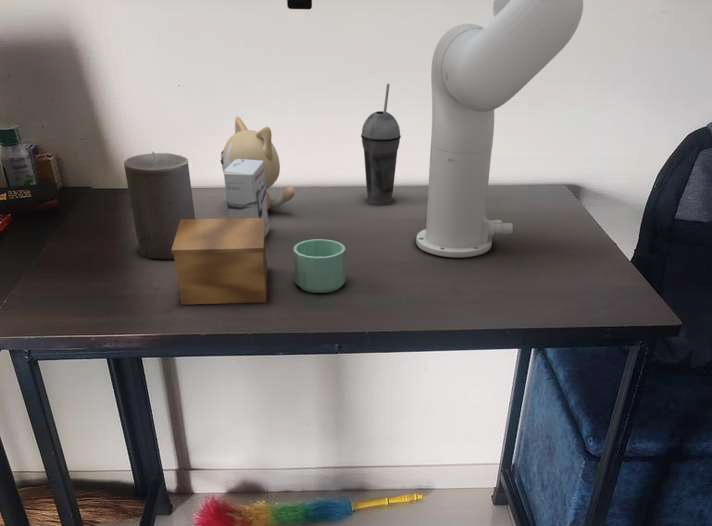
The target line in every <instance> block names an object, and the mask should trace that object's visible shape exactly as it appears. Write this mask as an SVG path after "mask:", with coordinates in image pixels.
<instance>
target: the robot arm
mask: <svg viewBox="0 0 712 526" xmlns="http://www.w3.org/2000/svg"><path fill="white" fill-rule="evenodd" d="M286 3H287V4H286V7H287V9H289V10H312V8H313V0H286ZM583 11H584V0H493V5H492V13H493V14H492V15H493V18H492V19H491V20H490V21H489V22H488V23H487V24H486V25H485V26H484V27H483V26H481V25H478V24H474V23H461V24H458V25H455V26H453V27H451V28H450V29H448V30H447V31H446V32H445V33H443V35H442V36H441V37H440V39H439V40H438V42H437V44H436V45H435V49H434V51H433V54H432V59H431V67H430V68H431V70H430V78H431V79H430V80H431V81H430V84H431V110H432V111H431V114H432V115H431V136H430V150H429V151H430V153H429V169H428V173H429V174H428V187H427V204H426V205H427V206H426V222H425V223H426V225H425V228H424V229H422V230H421V231H419V232H418V233H417V234H416V239H415V243H416V246H417V247H418V248H419V249H420V250H422V251H423V252H425V253H428V254H431V255H434V256H438V257H444V258H455V259H457V258H460V259H461V258H471V257H477V256H481V255H483V254H485V253H487V252H488V251H490V250H491V248H492V243H493V239H492V238H494V236H512V235H513V230H514V227H513V223H512V222H503V221H502V219H493V220H489V219H488V218H487V216H486V210H487V200H488V190H489V180H490V171H491V161H492V153H493V152H492V149H493V143H494V133H495V132H494V131H495V110H496V109H498V108H500V107H502V106H503V105H505V104H506V103H507V102H509V101H510V100H511V99H512V98H514V97H515V96H516V95H517V94H518V93H519V92H520V91H521V90H522V89H523V88H524V87H525V86H526V85H527V84H529V82H530V81H531V80H533V79H534V77H535V76H537V75H538V74H539V73H540V72H541V71H542V70H543V69H544V68H545V67H546V66H547V65H548V64H549V63H550V62H551V61H552V60H554V58H556V56H557V55H558V54H559V53H560V52H561V51H562V50H563V49H564V48H565V47H566V46H567V45H568V43H569V42H570V41H571V39H572V38H573V37H574V35H575V33H576V31H577V29H578V27H579V25H580V22H581V19H582V15H583Z"/></svg>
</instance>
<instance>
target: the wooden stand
mask: <svg viewBox="0 0 712 526" xmlns="http://www.w3.org/2000/svg"><path fill="white" fill-rule="evenodd" d="M171 251H172V254H174V259H173V260H174V266H175V272H176V278H177V285H178V291H179V292H178V293H179V298H180V304H181V305H182V306H185V305H216V304H217V305H218V304H253V303H256V304H257V303H258V304H259V303H267V298H268V297H267V295H268V261H267V247H266V236H265V218H233V219H229V218H195V219H181V220H180V223H179V226H178V230H177V233H176V236H175V240H174V243H173V246H172V250H171Z"/></svg>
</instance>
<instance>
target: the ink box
mask: <svg viewBox="0 0 712 526" xmlns="http://www.w3.org/2000/svg"><path fill="white" fill-rule="evenodd" d="M223 177H224V186H225V197H226V207H227V219H233V218H265V237H267V235H268V233H269V231H270V229H269V228H270V227H269V215H268V214H269V213H268V210H267V199H266V185H265V170H264V161H261V160H247V159H235V160H234V161H233V162H232V163H231V164H230V165H229V166H228V167H227V168H226V169H225V170H224V173H223Z"/></svg>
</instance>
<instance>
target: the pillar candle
mask: <svg viewBox="0 0 712 526" xmlns="http://www.w3.org/2000/svg"><path fill="white" fill-rule="evenodd" d="M123 166H124V172H125V179H126V185H127V190H128V196H129V201H130V202H129V203H130V207H131V211H132V216H133V217H132V218H133V222H134V228H135V230H134V231H135V236H136V239H137V244H138V248H139V249H138V252H139V254H140V255H141V256H142V257H145V258H147V259H152V260H153V259H154V260H175V259H174V254H172V251H171V250H172V246H173V243H174V240H175V236H176V233H177V230H178V226H179V223H180V220H181V219H196V213H195V206H194V205H195V204H194V198H193V191H192V183H191V176H190V175H191V174H190V167H189V159H188V158H187V157H185V156H182V155H180V154H174V153H170V152H156V153H155V151H151V153H144V154H143V153H142V154H138V155H134V156H131V157H127V158H126V159H125V160H124V161H123Z"/></svg>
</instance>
